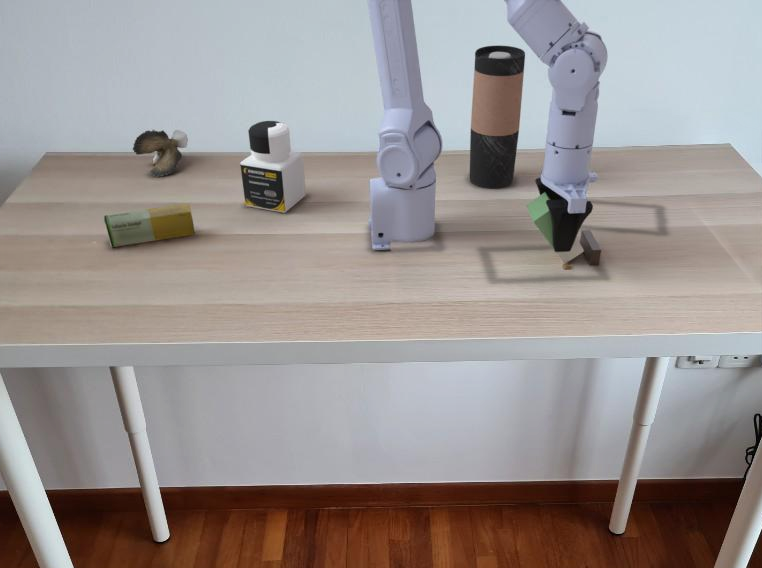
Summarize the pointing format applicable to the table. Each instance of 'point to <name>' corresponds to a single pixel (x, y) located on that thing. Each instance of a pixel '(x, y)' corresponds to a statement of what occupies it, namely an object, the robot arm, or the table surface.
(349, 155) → the table surface
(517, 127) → the travel mug
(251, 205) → the medicine bottle
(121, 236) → the medication box
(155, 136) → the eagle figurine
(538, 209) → the block
